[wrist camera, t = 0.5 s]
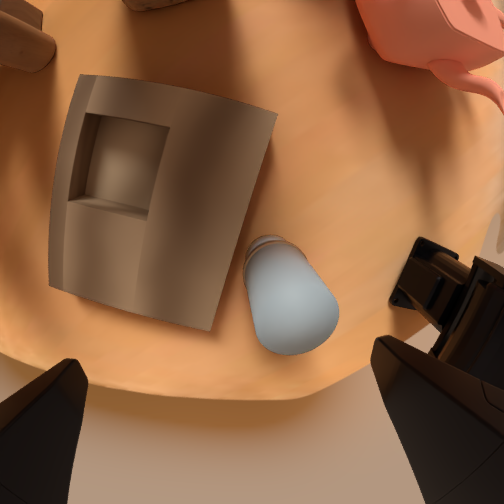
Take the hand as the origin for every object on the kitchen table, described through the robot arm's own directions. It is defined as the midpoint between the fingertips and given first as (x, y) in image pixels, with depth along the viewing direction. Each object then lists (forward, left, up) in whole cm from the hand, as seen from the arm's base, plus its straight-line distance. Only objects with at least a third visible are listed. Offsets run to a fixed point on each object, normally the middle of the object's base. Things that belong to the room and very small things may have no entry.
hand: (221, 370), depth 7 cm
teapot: (-8, -21, -13) cm, 26 cm away
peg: (-4, +1, -13) cm, 13 cm away
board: (+5, -1, -13) cm, 14 cm away
